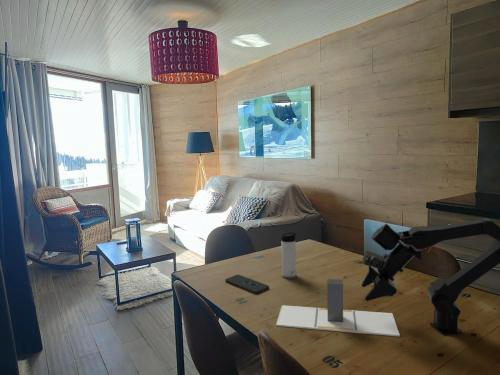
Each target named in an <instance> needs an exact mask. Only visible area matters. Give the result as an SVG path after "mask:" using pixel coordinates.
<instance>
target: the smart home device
mask: <svg viewBox="0 0 500 375" xmlns="http://www.w3.org/2000/svg"><path fill="white" fill-rule="evenodd" d="M224 282H225V283H227V284H229V285H231V286H234V287H237V288H239V289H241V290H244V291H247V292H248V293H251V294H254V295H258V294H260V293H263V292H265V291H268V290H269V289H270V285H268V284H265V283H263V282H260V281H258V280H254V279H252V278H249V277H246V276H244V275H241V274H236V275H233V276H230V277H226V278H225V280H224Z"/></svg>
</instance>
